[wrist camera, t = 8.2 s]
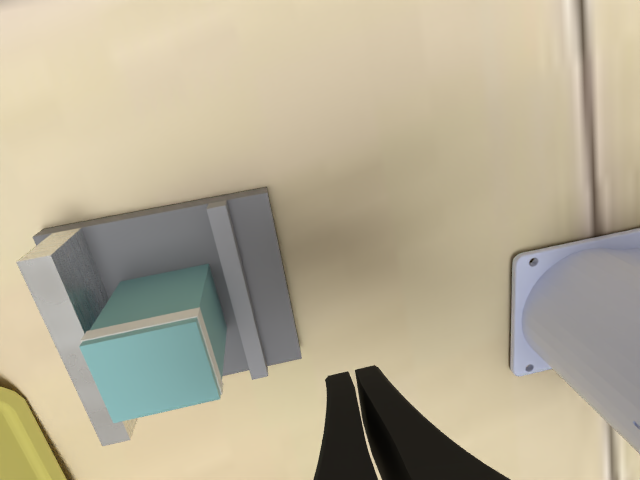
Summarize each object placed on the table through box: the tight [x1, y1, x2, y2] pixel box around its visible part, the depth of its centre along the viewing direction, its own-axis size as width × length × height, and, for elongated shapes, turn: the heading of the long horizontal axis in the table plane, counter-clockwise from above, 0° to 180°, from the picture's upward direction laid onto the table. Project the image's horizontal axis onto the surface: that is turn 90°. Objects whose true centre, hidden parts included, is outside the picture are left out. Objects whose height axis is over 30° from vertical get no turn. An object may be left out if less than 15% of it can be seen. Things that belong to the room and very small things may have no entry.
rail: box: [17, 228, 137, 446], centre depth 18 cm, size 1×9×3 cm, turn 9°
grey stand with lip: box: [33, 187, 302, 380], centre depth 20 cm, size 10×9×2 cm
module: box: [79, 264, 227, 423], centre depth 18 cm, size 4×4×5 cm
